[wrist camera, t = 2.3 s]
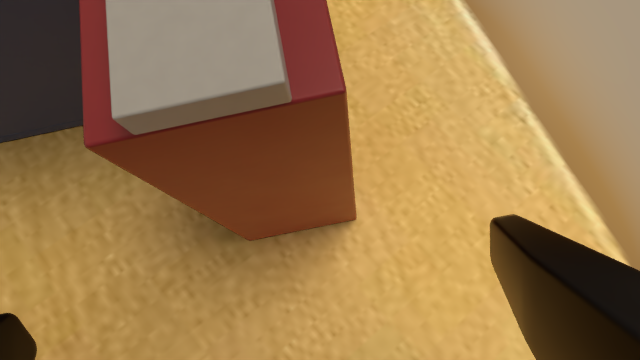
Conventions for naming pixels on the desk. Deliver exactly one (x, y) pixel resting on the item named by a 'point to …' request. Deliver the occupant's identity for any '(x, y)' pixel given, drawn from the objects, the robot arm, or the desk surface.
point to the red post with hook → (223, 107)
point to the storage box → (39, 67)
